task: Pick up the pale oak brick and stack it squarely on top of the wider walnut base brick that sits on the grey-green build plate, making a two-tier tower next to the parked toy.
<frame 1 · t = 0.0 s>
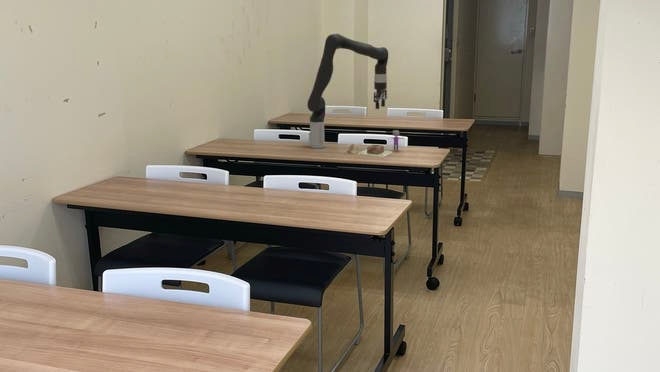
hand: (380, 107, 380), 29 cm above the table, fingers open, 8 cm apart
toy: (395, 153, 391), on the table
build plate: (375, 154, 388), on the table
base brick: (375, 152, 388), point 1 cm above the table, touching build plate
top brick: (352, 154, 389), on the table
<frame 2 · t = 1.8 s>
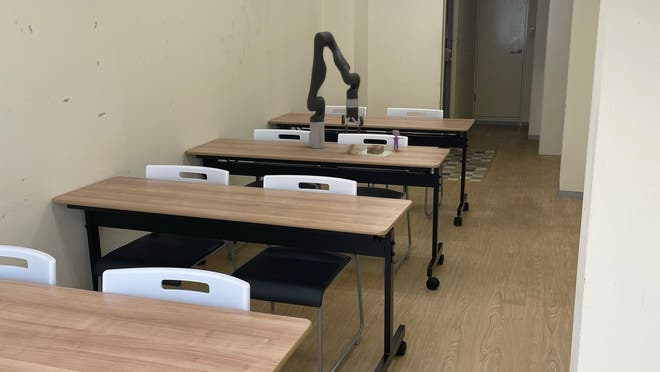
hand: (352, 132, 385), 14 cm above the table, fingers open, 8 cm apart
nothing on the table moved.
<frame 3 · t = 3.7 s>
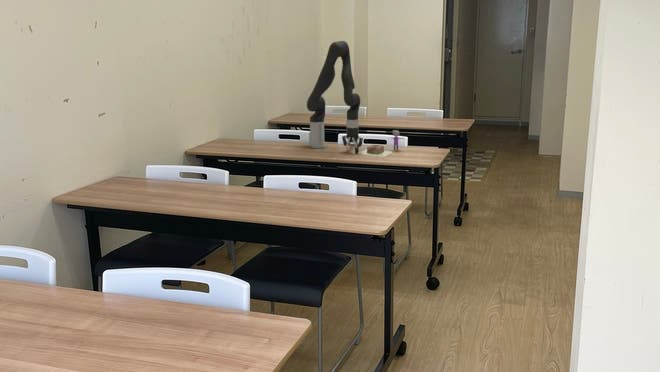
hand: (352, 152, 389), 1 cm above the table, fingers closed on top brick, 5 cm apart
top brick: (352, 154, 389), on the table, touching gripper
everything else where it was.
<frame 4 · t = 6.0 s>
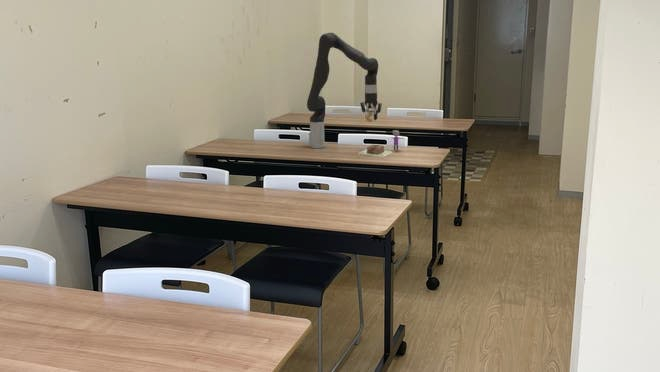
hand: (371, 119, 381), 22 cm above the table, fingers closed on top brick, 5 cm apart
top brick: (371, 121, 381), point 21 cm above the table, touching gripper
everything else where it was.
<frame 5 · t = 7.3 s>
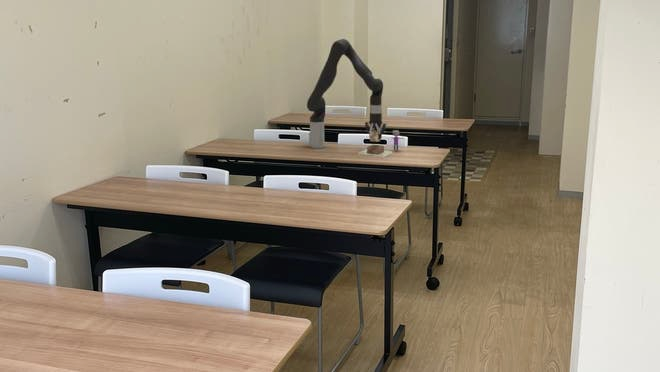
hand: (375, 138, 385), 10 cm above the table, fingers closed on top brick, 5 cm apart
top brick: (375, 140, 385), point 9 cm above the table, touching gripper
everything else where it was.
when the fingers open (7 cm above the table, at t = 8.3 s): top brick stays where it is, resting on base brick.
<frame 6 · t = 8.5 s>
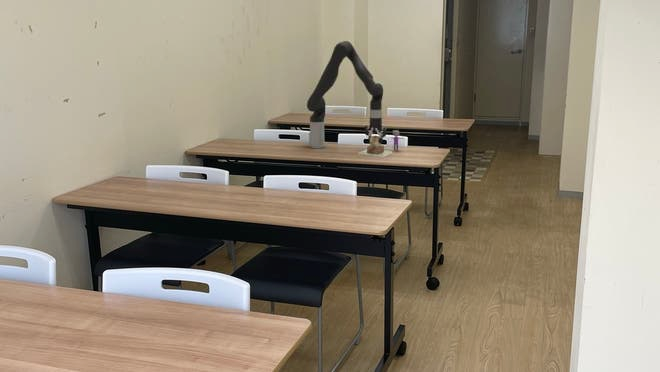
hand: (375, 142, 386), 7 cm above the table, fingers open, 6 cm apart
base brick: (375, 152, 388), point 1 cm above the table, touching build plate, top brick
top brick: (375, 146, 386), point 5 cm above the table, touching base brick
everything else where it was.
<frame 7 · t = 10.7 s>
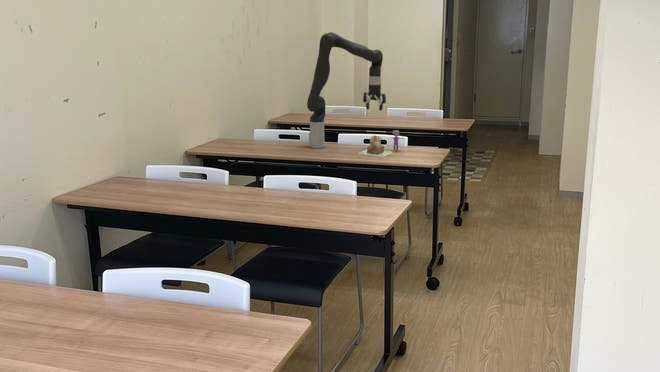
hand: (374, 109, 382), 28 cm above the table, fingers open, 8 cm apart
nothing on the table moved.
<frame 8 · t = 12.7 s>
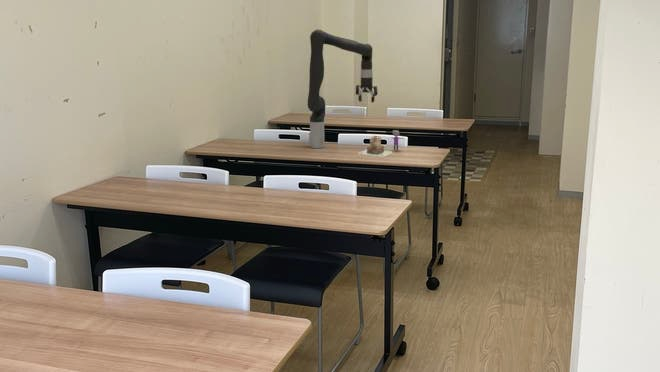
hand: (366, 101, 397), 30 cm above the table, fingers open, 8 cm apart
nothing on the table moved.
at the end: top brick 0.1 cm from the base brick (horizontally); top brick point 5.2 cm above the table; top brick tilted 0° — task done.
